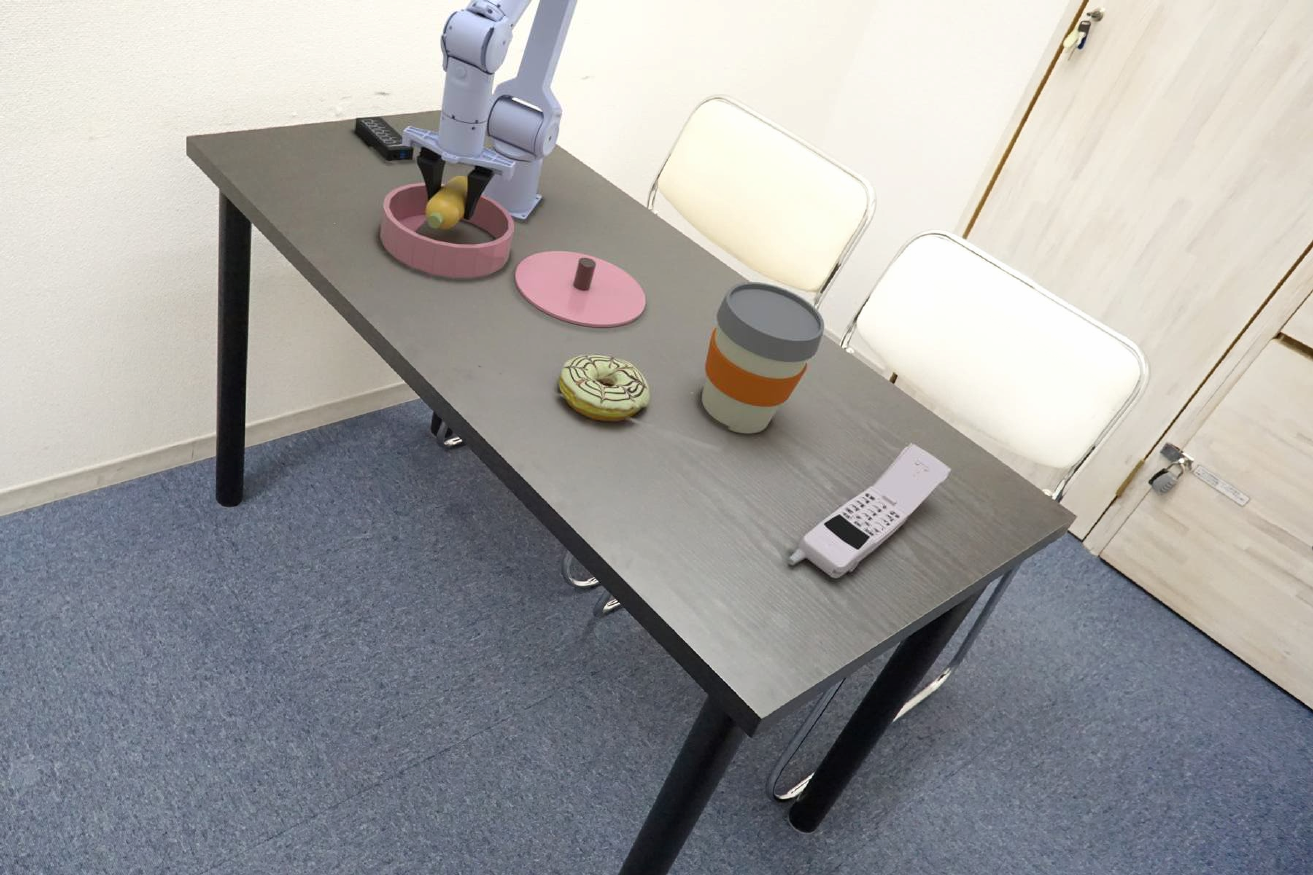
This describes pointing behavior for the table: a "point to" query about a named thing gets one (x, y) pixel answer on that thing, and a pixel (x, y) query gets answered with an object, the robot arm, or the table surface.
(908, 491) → the mobile phone
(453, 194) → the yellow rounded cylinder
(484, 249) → the pot
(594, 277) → the lid
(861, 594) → the table surface
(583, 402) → the decorated donut
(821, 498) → the table surface
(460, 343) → the table surface
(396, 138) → the multiport hub
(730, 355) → the reusable coffee cup
